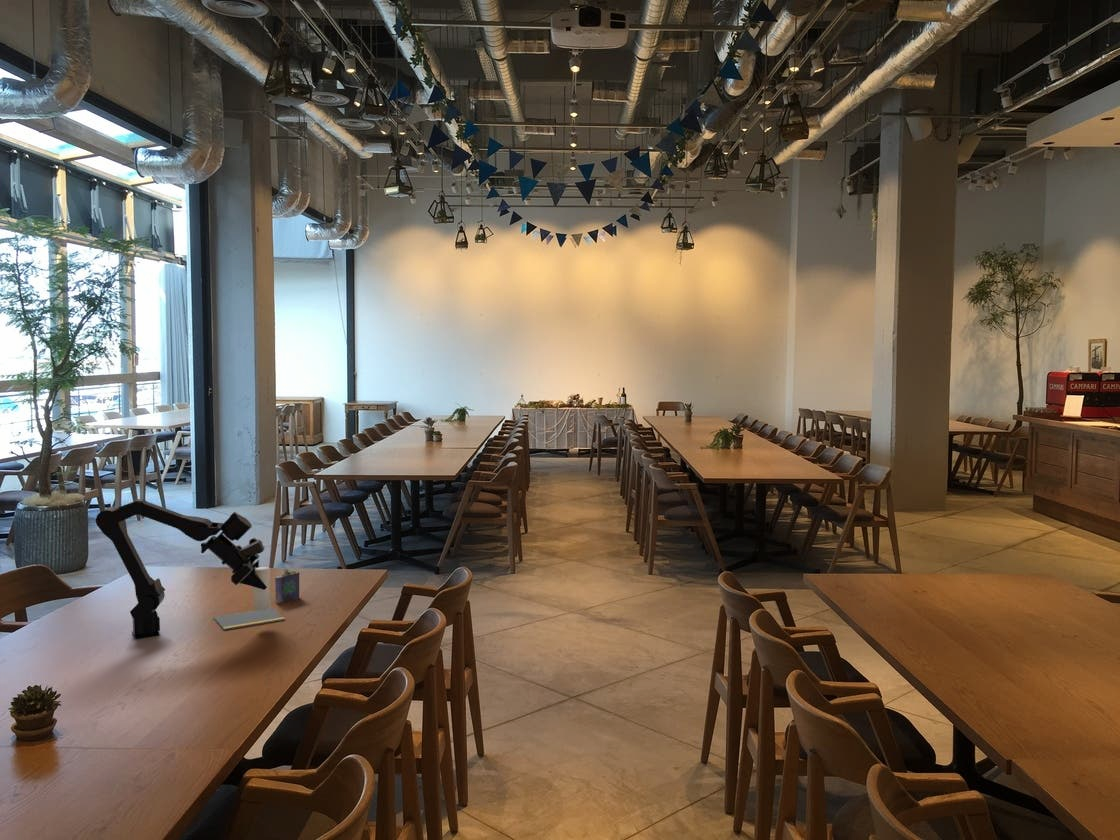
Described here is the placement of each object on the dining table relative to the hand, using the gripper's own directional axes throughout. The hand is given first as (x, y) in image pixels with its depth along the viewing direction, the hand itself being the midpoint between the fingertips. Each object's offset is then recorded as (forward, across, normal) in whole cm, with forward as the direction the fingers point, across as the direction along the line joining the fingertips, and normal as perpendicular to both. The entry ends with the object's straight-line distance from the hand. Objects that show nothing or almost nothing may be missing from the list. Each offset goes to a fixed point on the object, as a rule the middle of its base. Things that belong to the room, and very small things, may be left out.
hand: (266, 586), depth 261 cm
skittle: (+4, 0, +6) cm, 7 cm away
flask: (+11, +28, +7) cm, 31 cm away
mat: (+4, +9, +13) cm, 17 cm away
